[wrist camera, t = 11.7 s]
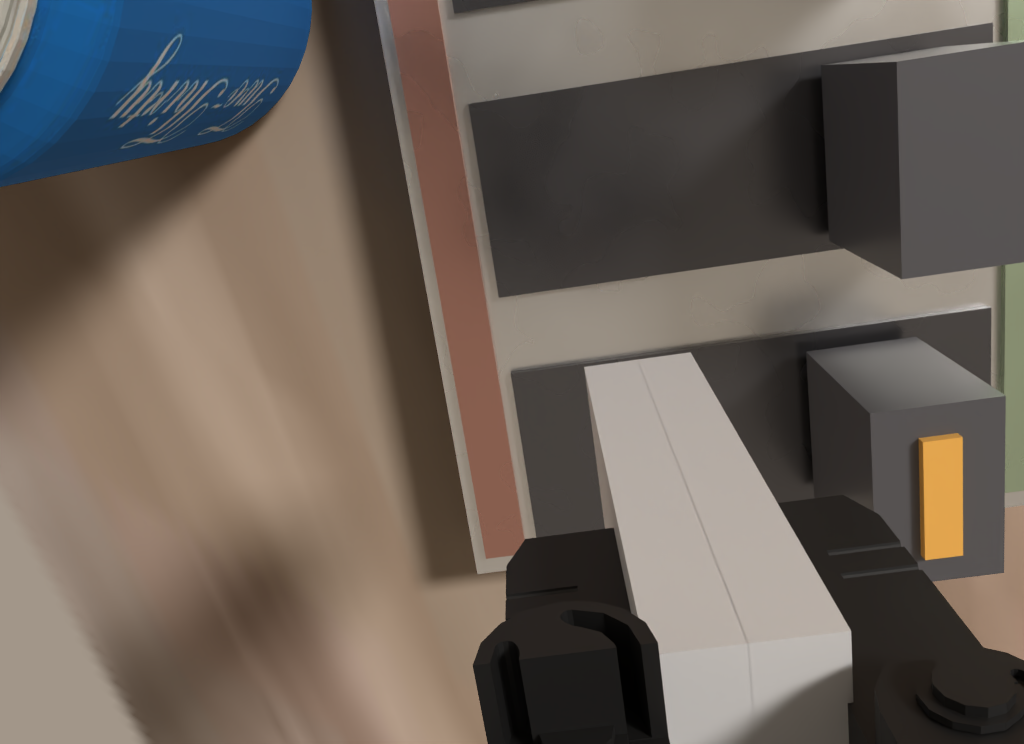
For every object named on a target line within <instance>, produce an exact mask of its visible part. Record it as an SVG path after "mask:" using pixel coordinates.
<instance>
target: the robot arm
mask: <svg viewBox="0 0 1024 744" xmlns="http://www.w3.org/2000/svg"><path fill="white" fill-rule="evenodd" d="M584 370H585V378H586V385H587V393H588V401H589V409H590V416H591V424H592V432H593V440H594V447H595V455H596V463H597V471H598V478H599V486H600V494H601V502H602V509H603V517H604V525H605V529H599V530H591V531H583V532H575V533H568V534H560V535H552V536H544V537H537V538H529V539H525V540H524V542H523V543H522V544H521V546H520V547H519V549H518V550H517V551H516V553H515V554H514V556H513V557H512V559H511V560H510V561H509V563H508V564H507V566H506V598H507V600H506V621H505V622H503V623H501V624H500V625H499V626H498V627H497V628H496V629H495V630H494V631H493V632H492V633H491V634H490V635H489V636H488V637H487V638H486V639H485V640H484V641H483V642H482V643H481V644H480V647H479V650H478V653H477V655H476V658H475V661H474V664H473V669H474V674H475V679H476V684H477V690H478V695H479V700H480V705H481V710H482V716H483V721H484V726H485V731H486V736H487V742H488V744H1024V660H1021V659H1019V658H1017V657H1015V656H1013V655H1010V654H1008V653H1005V652H1001V651H996V650H992V649H987V648H983V647H982V645H981V644H980V643H979V641H978V640H977V639H976V638H975V636H974V635H973V634H972V632H971V631H970V630H969V629H968V627H967V626H966V625H965V623H964V622H963V621H962V620H961V618H960V617H959V616H958V615H957V613H956V612H955V611H954V609H953V608H952V607H951V606H950V604H949V603H948V602H947V600H946V599H945V598H944V597H943V595H942V594H941V593H940V591H939V590H938V589H937V588H936V586H935V585H934V584H933V582H932V581H931V580H930V579H929V577H928V576H927V575H926V574H925V572H924V571H923V570H919V568H918V563H917V562H916V561H915V559H914V558H913V557H912V556H911V554H910V553H909V552H908V550H907V549H906V548H905V547H901V543H900V540H899V539H898V538H897V536H896V535H895V534H894V533H893V531H892V530H891V529H890V527H889V526H888V525H887V524H886V522H885V521H884V520H883V518H882V517H881V516H880V515H879V514H877V513H876V512H874V511H872V510H870V509H868V508H866V507H865V506H863V505H861V504H859V503H857V502H855V501H854V500H852V499H850V498H848V497H846V496H844V495H836V496H829V497H821V498H813V499H805V500H798V501H790V502H782V503H777V501H776V500H775V498H774V496H773V495H772V493H771V491H770V489H769V488H768V486H767V484H766V482H765V481H764V479H763V477H762V475H761V474H760V472H759V470H758V468H757V467H756V465H755V463H754V462H753V460H752V458H751V456H750V455H749V453H748V451H747V449H746V448H745V446H744V444H743V442H742V441H741V439H740V437H739V436H738V434H737V432H736V430H735V429H734V427H733V425H732V423H731V422H730V420H729V418H728V416H727V415H726V413H725V411H724V410H723V408H722V406H721V404H720V403H719V401H718V399H717V397H716V396H715V394H714V392H713V390H712V389H711V387H710V385H709V383H708V382H707V380H706V378H705V377H704V375H703V373H702V371H701V370H700V368H699V366H698V364H697V363H696V361H695V359H694V357H693V356H692V354H691V352H689V353H682V354H674V355H667V356H660V357H653V358H645V359H638V360H631V361H624V362H616V363H609V364H602V365H595V366H587V367H584Z"/></svg>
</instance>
